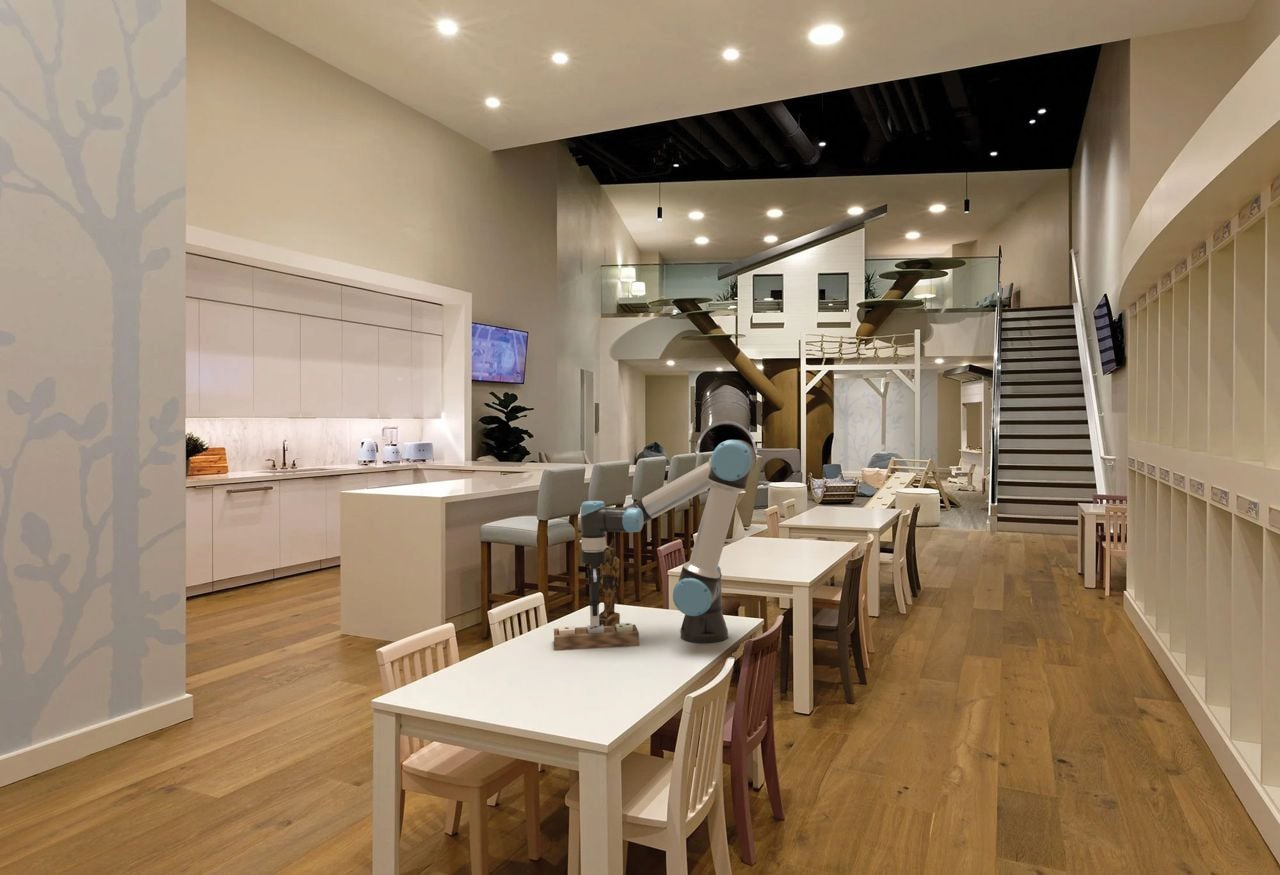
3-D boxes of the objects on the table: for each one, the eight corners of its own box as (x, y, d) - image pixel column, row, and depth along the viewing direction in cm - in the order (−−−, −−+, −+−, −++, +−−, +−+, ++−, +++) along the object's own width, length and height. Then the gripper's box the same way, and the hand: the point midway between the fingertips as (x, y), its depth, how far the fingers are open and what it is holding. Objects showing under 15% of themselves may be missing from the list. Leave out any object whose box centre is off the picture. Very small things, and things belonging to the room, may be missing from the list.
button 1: (574, 638, 254) (574, 625, 254) (575, 642, 249) (575, 629, 249) (558, 639, 253) (558, 626, 253) (559, 643, 248) (558, 630, 248)
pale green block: (631, 635, 256) (631, 622, 256) (633, 639, 251) (632, 626, 251) (615, 636, 255) (615, 623, 255) (617, 640, 250) (616, 627, 250)
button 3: (603, 637, 255) (602, 624, 255) (604, 641, 250) (604, 627, 250) (587, 638, 254) (587, 624, 254) (588, 642, 249) (588, 628, 249)
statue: (589, 631, 268) (587, 541, 268) (603, 623, 278) (601, 537, 278) (611, 632, 265) (609, 542, 265) (624, 625, 275) (622, 537, 275)
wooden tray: (635, 636, 259) (634, 624, 259) (639, 645, 248) (638, 632, 248) (554, 641, 256) (553, 628, 256) (554, 650, 245) (554, 637, 245)
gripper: (580, 547, 258) (581, 621, 258) (582, 553, 245) (583, 631, 245) (603, 547, 259) (605, 620, 259) (606, 553, 246) (608, 630, 246)
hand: (594, 625), depth 252 cm, fingers closed
